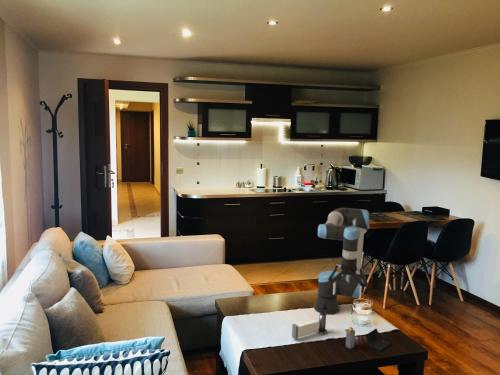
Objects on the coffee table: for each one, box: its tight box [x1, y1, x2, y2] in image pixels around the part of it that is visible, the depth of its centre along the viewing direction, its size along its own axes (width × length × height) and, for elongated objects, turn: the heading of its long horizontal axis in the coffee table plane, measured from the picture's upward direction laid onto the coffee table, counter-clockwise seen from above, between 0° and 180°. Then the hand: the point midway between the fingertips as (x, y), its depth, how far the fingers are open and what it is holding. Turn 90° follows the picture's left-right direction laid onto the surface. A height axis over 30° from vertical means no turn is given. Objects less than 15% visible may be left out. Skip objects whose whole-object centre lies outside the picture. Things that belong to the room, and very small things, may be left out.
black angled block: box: [364, 328, 392, 353], centre depth 214 cm, size 12×7×10 cm
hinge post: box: [316, 313, 328, 336], centre depth 224 cm, size 6×6×10 cm
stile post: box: [344, 326, 356, 349], centre depth 210 cm, size 3×4×10 cm
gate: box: [291, 319, 319, 340], centre depth 219 cm, size 3×15×7 cm, turn 120°
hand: (346, 295), depth 219 cm, fingers open, 13 cm apart
